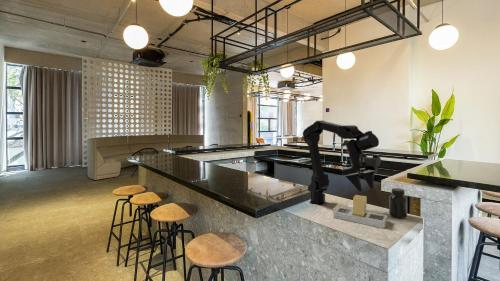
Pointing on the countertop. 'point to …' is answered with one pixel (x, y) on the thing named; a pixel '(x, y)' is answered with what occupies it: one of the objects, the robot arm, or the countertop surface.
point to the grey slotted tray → (369, 219)
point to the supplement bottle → (398, 204)
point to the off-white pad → (342, 206)
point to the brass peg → (359, 205)
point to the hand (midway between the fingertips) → (366, 190)
